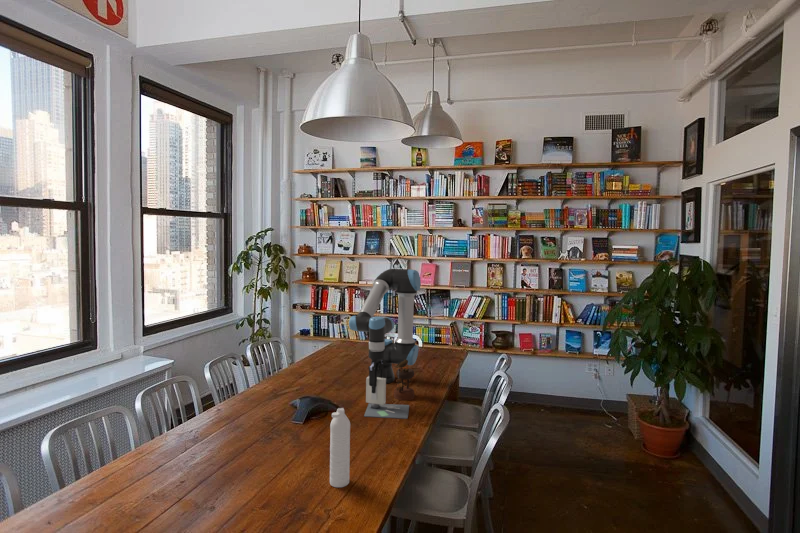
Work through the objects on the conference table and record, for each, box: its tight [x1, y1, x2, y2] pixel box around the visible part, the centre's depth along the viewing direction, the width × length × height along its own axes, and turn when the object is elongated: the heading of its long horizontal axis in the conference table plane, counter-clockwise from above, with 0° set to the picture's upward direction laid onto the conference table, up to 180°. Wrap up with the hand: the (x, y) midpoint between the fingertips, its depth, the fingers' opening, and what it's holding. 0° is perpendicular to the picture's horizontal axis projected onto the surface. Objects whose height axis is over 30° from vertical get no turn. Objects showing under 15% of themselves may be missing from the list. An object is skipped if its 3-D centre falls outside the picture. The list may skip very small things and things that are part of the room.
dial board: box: [363, 403, 410, 420], centre depth 211 cm, size 16×20×1 cm
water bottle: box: [329, 407, 351, 488], centre depth 146 cm, size 9×6×25 cm
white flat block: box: [365, 375, 396, 408], centre depth 213 cm, size 4×14×14 cm, turn 72°
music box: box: [393, 360, 415, 401], centre depth 231 cm, size 15×11×20 cm
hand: (375, 397), depth 214 cm, fingers closed on white flat block, 3 cm apart
